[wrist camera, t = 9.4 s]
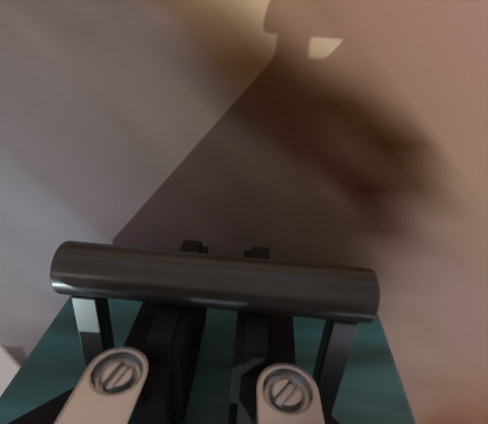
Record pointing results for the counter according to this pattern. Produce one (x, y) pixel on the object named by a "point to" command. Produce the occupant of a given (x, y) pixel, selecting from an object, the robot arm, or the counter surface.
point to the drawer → (217, 326)
